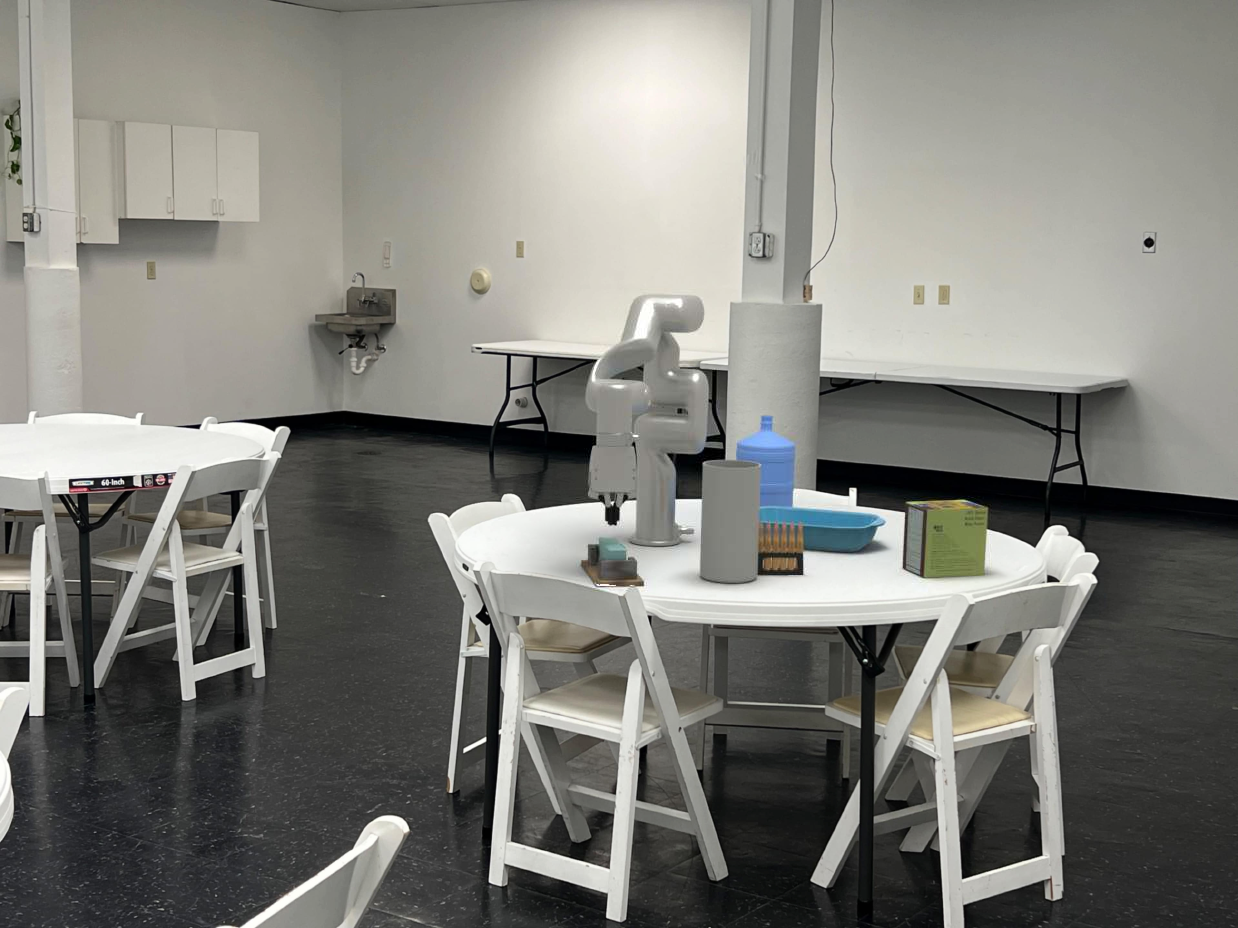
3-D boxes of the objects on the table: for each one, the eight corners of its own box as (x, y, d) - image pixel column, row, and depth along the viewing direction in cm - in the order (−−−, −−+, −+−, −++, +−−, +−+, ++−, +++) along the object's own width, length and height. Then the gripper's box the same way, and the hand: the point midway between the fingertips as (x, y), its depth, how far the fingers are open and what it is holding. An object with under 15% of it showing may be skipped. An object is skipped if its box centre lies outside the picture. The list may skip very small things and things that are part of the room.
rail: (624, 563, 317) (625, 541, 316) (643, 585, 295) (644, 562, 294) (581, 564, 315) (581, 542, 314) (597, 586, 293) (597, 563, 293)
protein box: (985, 575, 312) (989, 507, 310) (923, 578, 308) (927, 509, 305) (961, 565, 322) (964, 499, 320) (900, 568, 317) (904, 501, 315)
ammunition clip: (755, 575, 308) (757, 521, 306) (754, 573, 309) (755, 520, 308) (803, 575, 308) (805, 522, 306) (801, 573, 310) (804, 520, 308)
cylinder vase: (724, 568, 313) (728, 458, 310) (768, 578, 305) (772, 464, 301) (687, 576, 304) (690, 463, 301) (732, 586, 296) (736, 470, 292)
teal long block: (614, 563, 312) (614, 537, 311) (625, 577, 298) (626, 550, 297) (598, 564, 311) (598, 537, 310) (609, 578, 297) (609, 550, 296)
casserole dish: (723, 544, 342) (724, 515, 341) (750, 529, 362) (751, 501, 361) (873, 559, 328) (874, 529, 327) (892, 542, 348) (894, 514, 347)
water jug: (804, 522, 372) (809, 417, 368) (759, 527, 363) (763, 420, 359) (766, 513, 385) (770, 411, 380) (722, 518, 376) (725, 414, 372)
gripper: (644, 438, 306) (642, 521, 308) (576, 438, 303) (575, 521, 305) (651, 442, 298) (649, 527, 301) (582, 442, 296) (580, 528, 298)
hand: (612, 524), depth 303 cm, fingers closed
